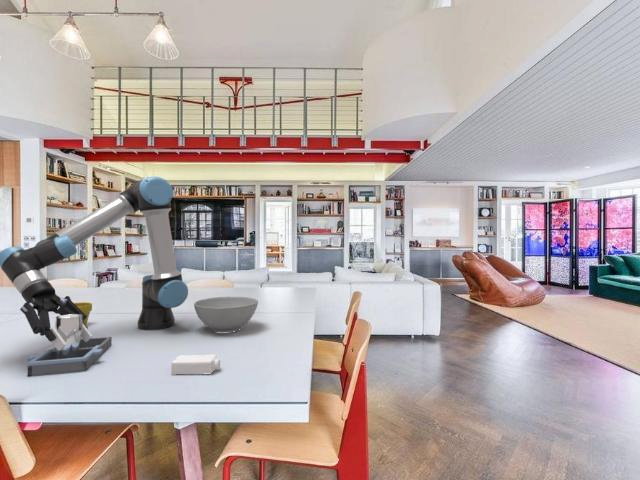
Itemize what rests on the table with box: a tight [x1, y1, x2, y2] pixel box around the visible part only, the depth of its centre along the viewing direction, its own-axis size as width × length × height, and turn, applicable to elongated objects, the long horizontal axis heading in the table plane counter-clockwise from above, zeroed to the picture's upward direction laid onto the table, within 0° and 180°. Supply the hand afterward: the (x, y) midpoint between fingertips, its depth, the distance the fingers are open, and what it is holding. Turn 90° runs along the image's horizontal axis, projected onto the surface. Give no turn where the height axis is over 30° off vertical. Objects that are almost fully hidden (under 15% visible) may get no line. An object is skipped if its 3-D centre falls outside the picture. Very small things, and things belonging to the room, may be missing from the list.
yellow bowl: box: [73, 301, 93, 326], centre depth 145 cm, size 10×10×10 cm
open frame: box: [26, 336, 113, 377], centre depth 106 cm, size 18×25×4 cm
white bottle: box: [170, 354, 221, 376], centre depth 97 cm, size 6×13×4 cm, turn 93°
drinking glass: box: [53, 314, 83, 359], centre depth 101 cm, size 7×7×15 cm
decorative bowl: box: [193, 296, 259, 333], centre depth 143 cm, size 27×27×12 cm
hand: (76, 343), depth 100 cm, fingers open, 8 cm apart
